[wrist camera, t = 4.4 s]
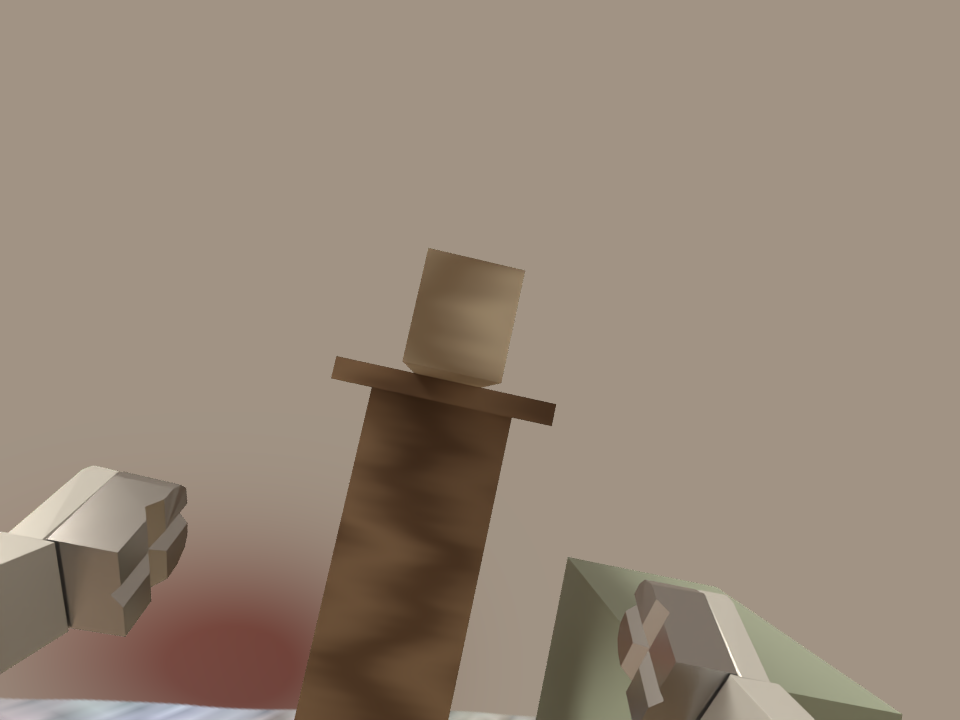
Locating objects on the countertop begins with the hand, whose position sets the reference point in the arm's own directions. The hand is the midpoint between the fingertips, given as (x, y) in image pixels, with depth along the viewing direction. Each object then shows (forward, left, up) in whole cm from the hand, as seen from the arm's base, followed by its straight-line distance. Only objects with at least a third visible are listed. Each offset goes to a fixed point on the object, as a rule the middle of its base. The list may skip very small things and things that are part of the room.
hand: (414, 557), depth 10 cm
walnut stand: (0, +21, -22) cm, 31 cm away
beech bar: (0, +16, +4) cm, 17 cm away
